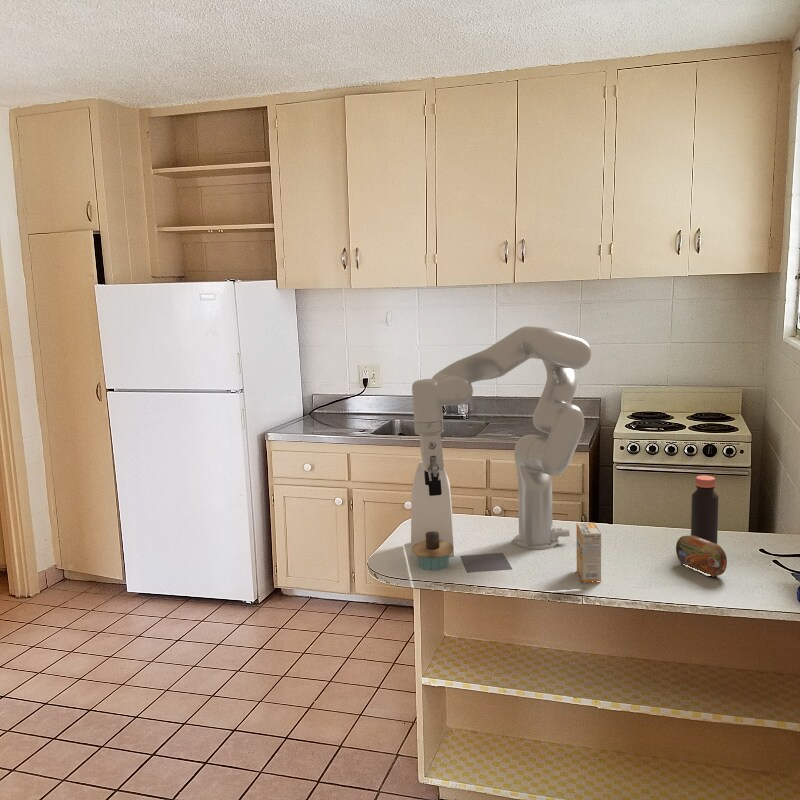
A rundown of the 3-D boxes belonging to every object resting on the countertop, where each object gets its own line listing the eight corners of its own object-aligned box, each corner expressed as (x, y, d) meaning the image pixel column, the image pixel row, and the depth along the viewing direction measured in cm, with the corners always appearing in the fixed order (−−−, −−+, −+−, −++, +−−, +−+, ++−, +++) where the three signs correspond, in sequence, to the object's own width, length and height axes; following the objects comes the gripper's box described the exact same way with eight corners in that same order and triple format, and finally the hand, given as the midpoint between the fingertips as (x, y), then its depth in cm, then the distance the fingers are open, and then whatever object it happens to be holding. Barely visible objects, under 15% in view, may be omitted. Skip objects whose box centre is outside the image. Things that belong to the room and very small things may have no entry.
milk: (454, 543, 221) (451, 456, 217) (454, 557, 210) (451, 466, 205) (413, 543, 222) (409, 457, 218) (410, 558, 211) (407, 467, 206)
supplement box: (575, 570, 197) (575, 522, 195) (594, 570, 197) (594, 521, 195) (582, 583, 189) (582, 533, 187) (601, 583, 189) (601, 532, 187)
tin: (674, 562, 200) (675, 531, 199) (683, 560, 201) (684, 529, 200) (719, 582, 186) (720, 549, 185) (728, 580, 188) (729, 547, 186)
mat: (503, 554, 210) (503, 552, 210) (512, 571, 199) (512, 569, 198) (460, 557, 210) (460, 555, 209) (467, 574, 198) (467, 572, 198)
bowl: (446, 559, 208) (445, 544, 208) (450, 570, 200) (449, 554, 200) (417, 561, 208) (416, 545, 207) (420, 572, 200) (419, 556, 199)
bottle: (722, 550, 207) (724, 479, 203) (700, 553, 205) (702, 482, 202) (706, 542, 213) (708, 473, 210) (685, 545, 212) (686, 475, 208)
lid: (450, 541, 209) (449, 525, 208) (456, 556, 198) (455, 539, 198) (410, 544, 208) (409, 528, 208) (414, 559, 198) (413, 542, 197)
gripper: (447, 432, 190) (451, 498, 193) (439, 419, 207) (443, 479, 210) (418, 435, 189) (422, 500, 192) (411, 421, 206) (416, 482, 209)
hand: (433, 489), depth 201 cm, fingers open, 9 cm apart
